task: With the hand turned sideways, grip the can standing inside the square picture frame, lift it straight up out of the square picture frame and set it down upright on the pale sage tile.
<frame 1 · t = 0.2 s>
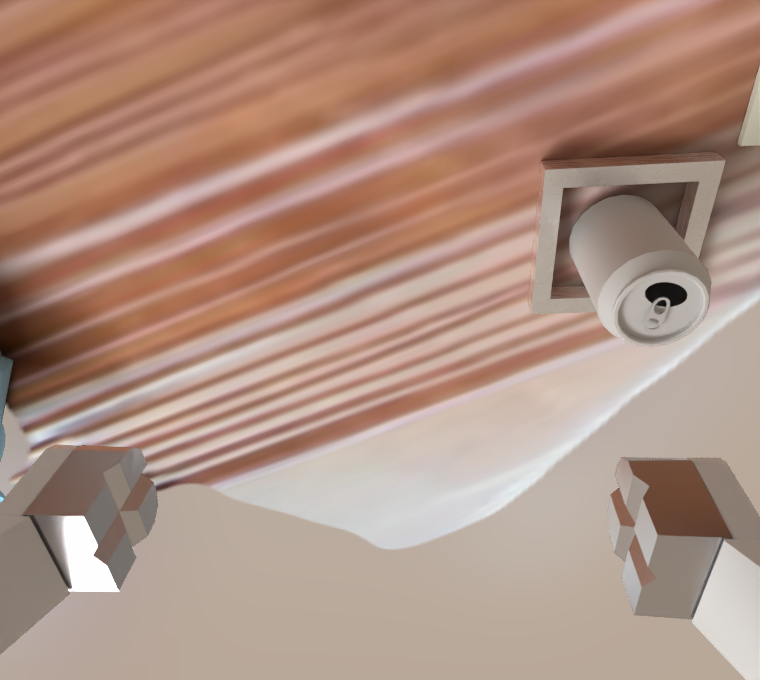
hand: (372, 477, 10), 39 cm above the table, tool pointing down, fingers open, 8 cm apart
can: (611, 232, 49), resting in square picture frame
square picture frame: (612, 233, 48), on the table
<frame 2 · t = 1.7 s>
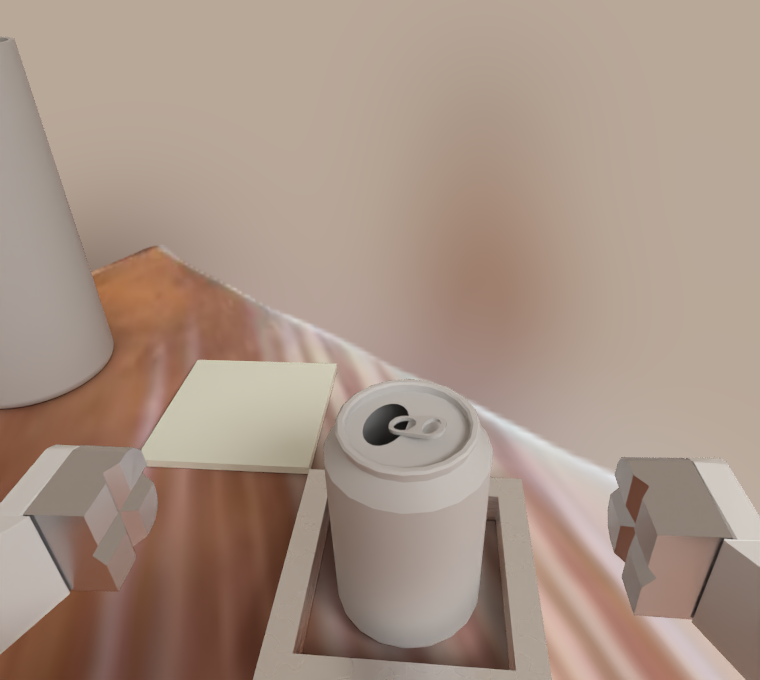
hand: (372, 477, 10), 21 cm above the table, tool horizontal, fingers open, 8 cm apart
can: (408, 591, 31), resting in square picture frame
tile: (247, 412, 44), on the table
square picture frame: (408, 588, 31), on the table
cylinder vase: (40, 369, 50), on the table
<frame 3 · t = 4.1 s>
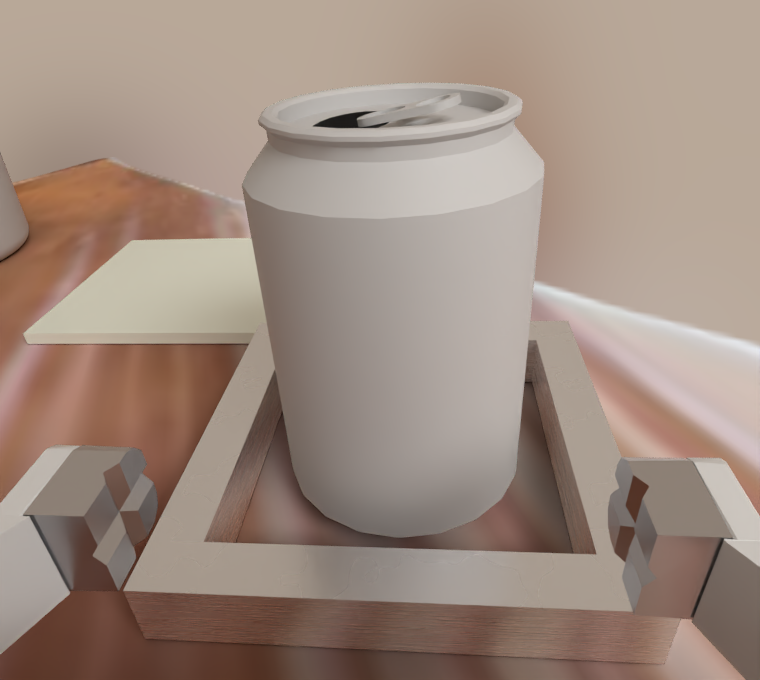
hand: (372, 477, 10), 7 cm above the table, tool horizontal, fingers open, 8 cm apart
can: (405, 470, 20), resting in square picture frame
tile: (188, 287, 33), on the table
square picture frame: (404, 466, 20), on the table
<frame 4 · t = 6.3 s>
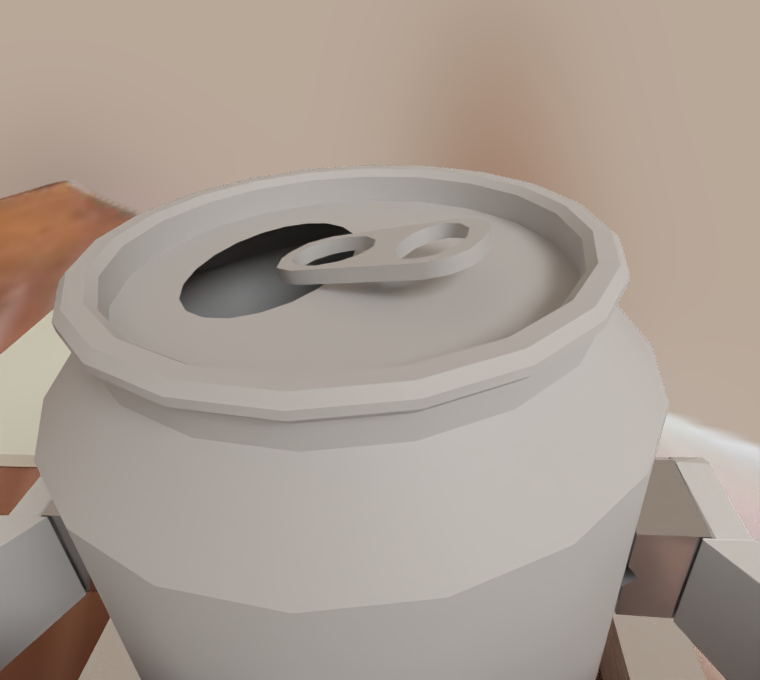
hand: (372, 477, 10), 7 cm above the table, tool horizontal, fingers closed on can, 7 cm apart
tile: (122, 372, 26), on the table
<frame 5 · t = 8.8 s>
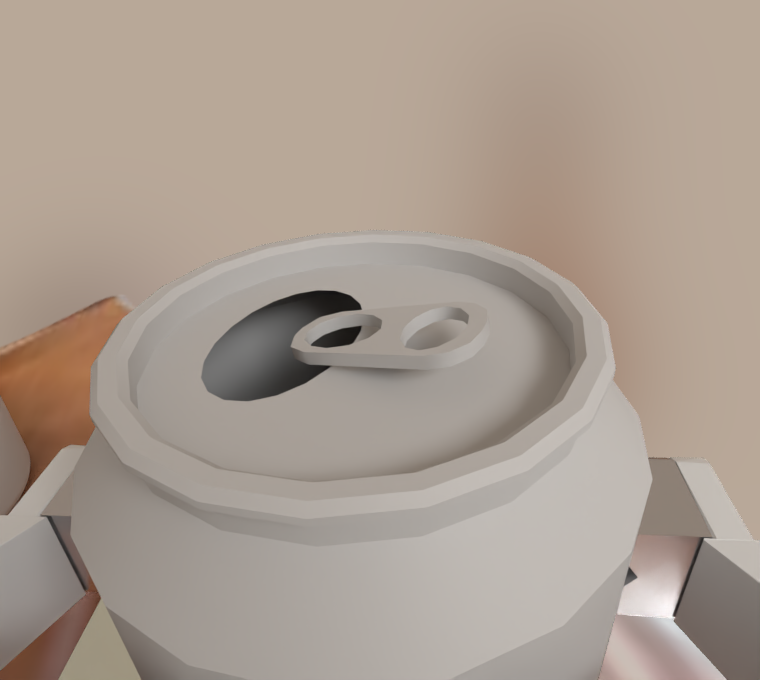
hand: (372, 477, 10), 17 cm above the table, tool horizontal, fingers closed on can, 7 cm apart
tile: (232, 605, 26), on the table
when the fingers open (9 cm above the table, at t = 12.6 s): can stays where it is, resting on tile.
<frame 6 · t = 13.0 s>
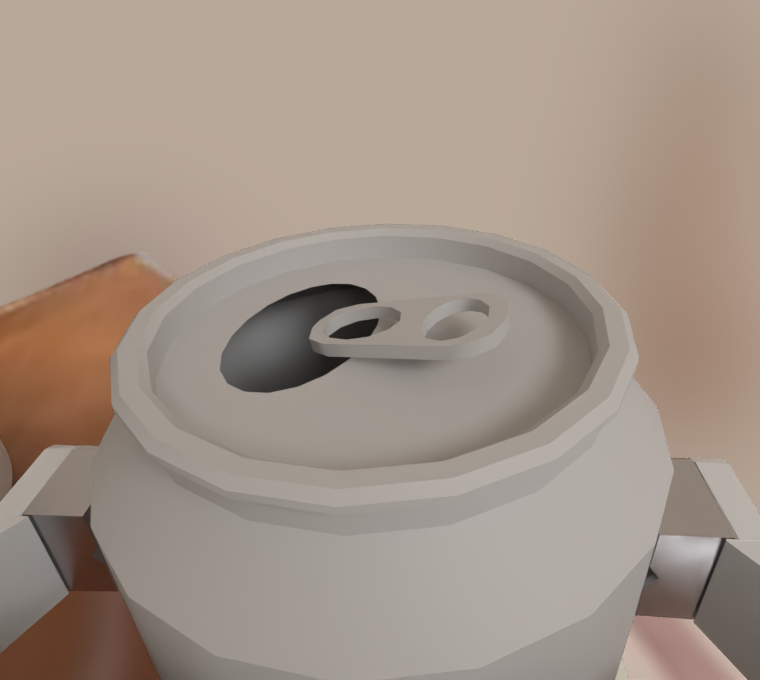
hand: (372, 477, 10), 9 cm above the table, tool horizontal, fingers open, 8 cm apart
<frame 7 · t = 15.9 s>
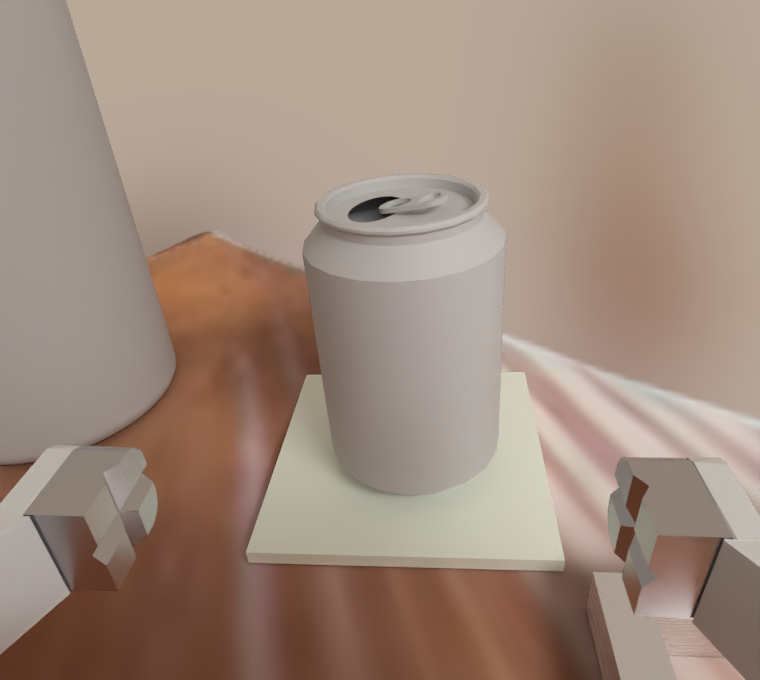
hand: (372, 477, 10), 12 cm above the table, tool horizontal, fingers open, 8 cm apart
can: (415, 451, 27), resting on tile
tile: (408, 457, 27), on the table
cylinder vase: (70, 398, 34), on the table
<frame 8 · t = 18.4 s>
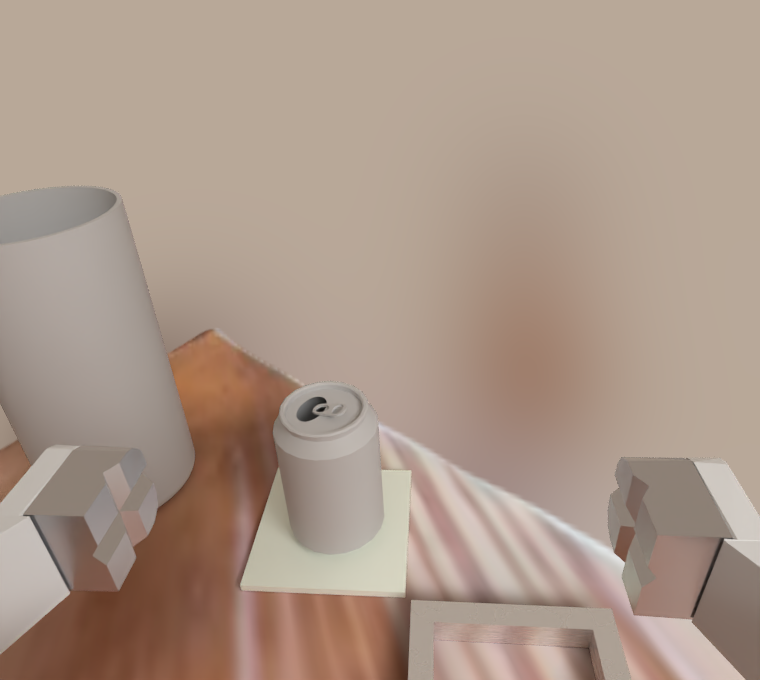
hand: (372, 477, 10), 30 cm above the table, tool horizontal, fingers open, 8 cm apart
can: (338, 524, 46), resting on tile
tile: (334, 527, 47), on the table
cylinder vase: (127, 478, 53), on the table
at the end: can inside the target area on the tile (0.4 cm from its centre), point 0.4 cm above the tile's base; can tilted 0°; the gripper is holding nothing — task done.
